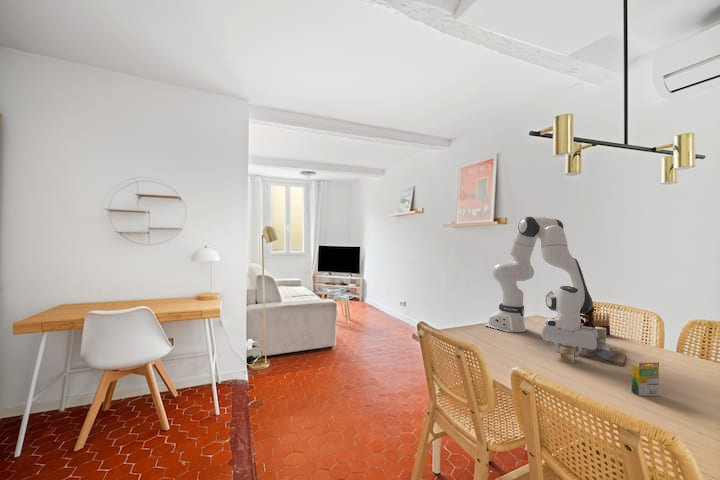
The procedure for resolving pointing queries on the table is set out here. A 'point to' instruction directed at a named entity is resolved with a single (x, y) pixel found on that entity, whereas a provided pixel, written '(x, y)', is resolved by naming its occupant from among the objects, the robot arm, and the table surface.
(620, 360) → the building board
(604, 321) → the ammunition clip
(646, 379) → the crayon box
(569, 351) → the maple block
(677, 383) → the table surface
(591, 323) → the dark brown rounded figure
